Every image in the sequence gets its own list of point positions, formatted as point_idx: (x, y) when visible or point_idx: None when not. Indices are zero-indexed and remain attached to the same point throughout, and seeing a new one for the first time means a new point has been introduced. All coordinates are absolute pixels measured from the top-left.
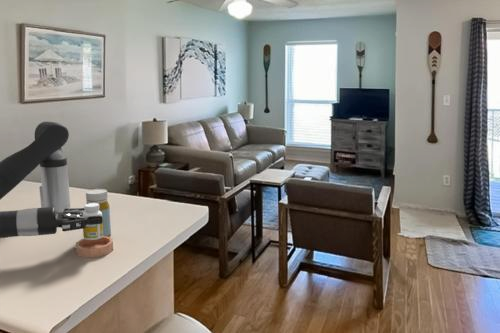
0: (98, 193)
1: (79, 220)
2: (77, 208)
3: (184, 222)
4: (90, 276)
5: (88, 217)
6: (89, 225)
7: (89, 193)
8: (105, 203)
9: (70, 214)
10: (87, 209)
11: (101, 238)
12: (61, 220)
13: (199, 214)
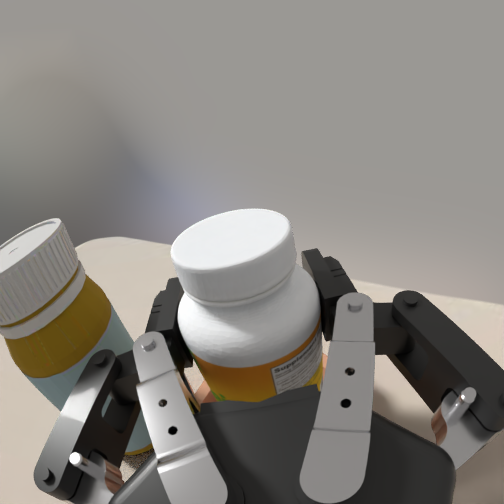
0: (52, 230)
1: (438, 313)
2: (71, 397)
3: (141, 251)
4: (494, 359)
5: (342, 294)
6: (321, 346)
7: (12, 263)
8: (86, 275)
9: (315, 422)
10: (287, 264)
11: (212, 393)
12: (451, 469)
13: (116, 240)
